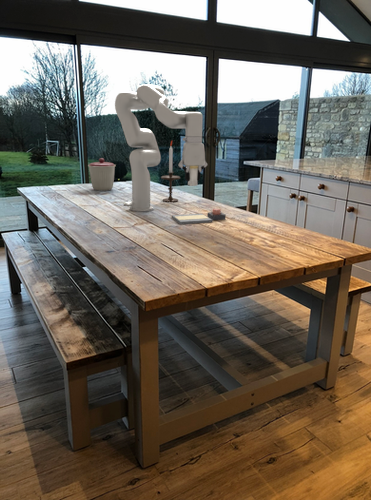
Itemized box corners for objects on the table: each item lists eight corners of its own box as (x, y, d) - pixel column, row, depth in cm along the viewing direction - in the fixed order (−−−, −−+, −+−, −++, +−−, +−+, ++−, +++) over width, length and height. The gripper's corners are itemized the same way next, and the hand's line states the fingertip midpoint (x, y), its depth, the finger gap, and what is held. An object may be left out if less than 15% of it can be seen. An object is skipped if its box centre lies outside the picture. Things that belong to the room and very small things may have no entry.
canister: (90, 187, 284) (89, 156, 278) (117, 187, 286) (116, 157, 280) (87, 192, 267) (85, 159, 261) (115, 192, 269) (114, 159, 263)
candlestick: (176, 199, 250) (177, 139, 239) (181, 202, 240) (183, 140, 229) (159, 199, 246) (159, 139, 236) (164, 203, 236) (164, 140, 226)
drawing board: (180, 224, 189) (180, 221, 189) (171, 217, 202) (171, 215, 201) (212, 222, 194) (212, 219, 194) (201, 215, 207) (201, 213, 206)
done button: (214, 216, 199) (214, 210, 198) (211, 214, 203) (211, 208, 202) (221, 216, 201) (222, 210, 200) (218, 214, 204) (218, 208, 203)
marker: (189, 186, 190) (190, 162, 187) (186, 184, 194) (186, 161, 191) (198, 185, 192) (199, 161, 188) (195, 184, 196) (196, 160, 192)
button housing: (212, 220, 198) (212, 215, 197) (207, 217, 204) (207, 212, 203) (225, 219, 200) (225, 214, 199) (219, 216, 206) (220, 211, 206)
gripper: (178, 140, 181) (178, 182, 186) (213, 140, 186) (212, 181, 192) (173, 139, 188) (173, 179, 193) (207, 140, 193) (206, 178, 198)
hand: (192, 180), depth 192 cm, fingers closed on marker, 4 cm apart
